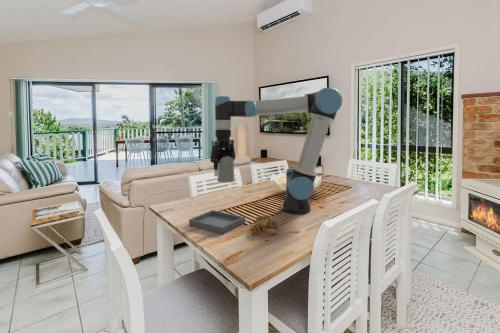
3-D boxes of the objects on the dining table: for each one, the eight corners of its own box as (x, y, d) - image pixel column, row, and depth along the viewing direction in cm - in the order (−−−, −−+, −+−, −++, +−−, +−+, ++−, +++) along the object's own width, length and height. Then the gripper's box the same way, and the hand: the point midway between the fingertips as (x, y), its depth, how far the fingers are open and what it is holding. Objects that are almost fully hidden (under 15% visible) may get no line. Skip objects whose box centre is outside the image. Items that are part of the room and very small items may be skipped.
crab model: (276, 240, 123) (276, 227, 122) (246, 236, 127) (246, 224, 126) (282, 226, 138) (282, 215, 137) (255, 224, 141) (255, 213, 140)
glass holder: (218, 182, 141) (218, 151, 139) (214, 177, 155) (214, 148, 152) (236, 182, 143) (236, 151, 141) (231, 176, 157) (231, 148, 154)
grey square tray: (244, 223, 142) (244, 217, 142) (222, 234, 128) (222, 228, 128) (212, 215, 153) (212, 210, 153) (189, 225, 139) (188, 219, 139)
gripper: (231, 128, 155) (231, 170, 159) (201, 129, 137) (202, 177, 141) (242, 128, 151) (242, 172, 154) (213, 130, 133) (214, 179, 137)
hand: (223, 174), depth 148 cm, fingers closed on glass holder, 9 cm apart
